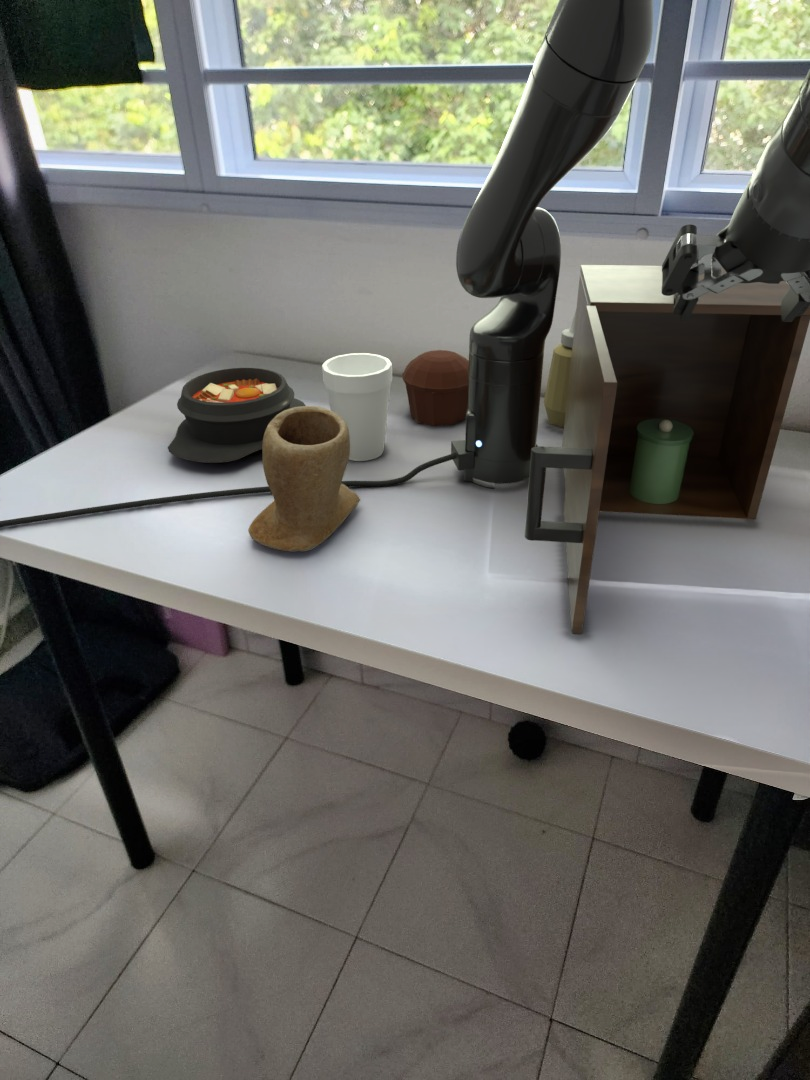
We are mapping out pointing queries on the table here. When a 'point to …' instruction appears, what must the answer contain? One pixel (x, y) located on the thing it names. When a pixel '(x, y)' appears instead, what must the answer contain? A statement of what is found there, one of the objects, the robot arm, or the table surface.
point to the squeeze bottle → (559, 378)
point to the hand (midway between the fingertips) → (733, 311)
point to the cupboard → (691, 383)
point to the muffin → (437, 387)
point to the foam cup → (360, 399)
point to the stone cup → (304, 479)
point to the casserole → (229, 413)
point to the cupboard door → (578, 468)
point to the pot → (659, 460)
